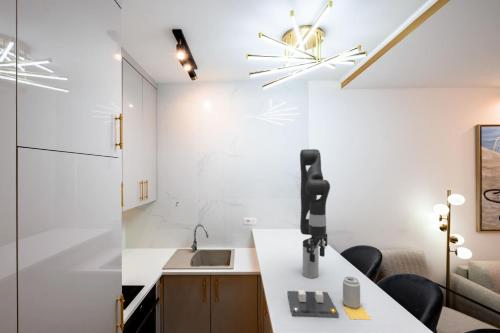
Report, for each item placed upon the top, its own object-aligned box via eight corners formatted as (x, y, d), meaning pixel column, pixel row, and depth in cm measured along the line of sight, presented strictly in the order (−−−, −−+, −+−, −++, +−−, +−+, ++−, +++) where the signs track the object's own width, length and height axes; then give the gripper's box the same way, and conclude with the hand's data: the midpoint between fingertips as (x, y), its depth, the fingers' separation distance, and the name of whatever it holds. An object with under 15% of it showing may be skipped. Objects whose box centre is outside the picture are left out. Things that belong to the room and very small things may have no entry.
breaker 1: (298, 297, 114) (298, 289, 114) (304, 297, 114) (304, 290, 114) (299, 301, 110) (299, 294, 110) (305, 302, 110) (305, 294, 110)
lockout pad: (342, 306, 110) (342, 306, 110) (362, 307, 109) (362, 306, 109) (349, 319, 101) (349, 318, 101) (371, 319, 100) (371, 319, 100)
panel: (287, 293, 121) (287, 288, 121) (327, 295, 120) (327, 289, 120) (291, 316, 103) (291, 309, 103) (338, 317, 102) (338, 311, 102)
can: (355, 300, 115) (355, 275, 115) (363, 309, 108) (363, 282, 108) (340, 300, 115) (340, 275, 115) (347, 309, 107) (347, 282, 107)
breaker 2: (314, 297, 114) (314, 290, 114) (321, 297, 114) (321, 290, 114) (316, 302, 110) (316, 294, 110) (323, 302, 110) (323, 295, 110)
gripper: (318, 219, 115) (317, 252, 115) (301, 225, 105) (301, 261, 105) (332, 222, 109) (332, 256, 110) (316, 228, 100) (316, 266, 100)
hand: (317, 258), depth 108 cm, fingers open, 8 cm apart
